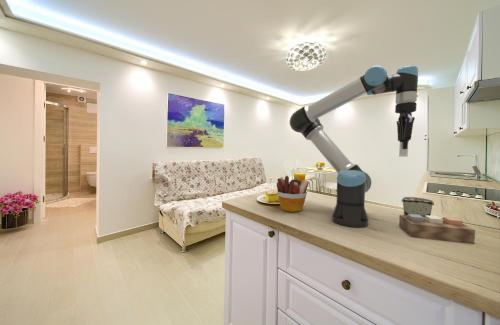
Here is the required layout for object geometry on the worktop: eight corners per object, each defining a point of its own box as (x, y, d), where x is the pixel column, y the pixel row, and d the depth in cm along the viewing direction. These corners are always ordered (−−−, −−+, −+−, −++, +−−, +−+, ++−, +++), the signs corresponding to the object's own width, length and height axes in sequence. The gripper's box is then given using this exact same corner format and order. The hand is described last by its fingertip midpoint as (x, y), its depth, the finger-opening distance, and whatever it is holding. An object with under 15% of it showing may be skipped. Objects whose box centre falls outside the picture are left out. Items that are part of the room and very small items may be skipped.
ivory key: (429, 229, 81) (430, 218, 81) (424, 226, 85) (425, 215, 85) (442, 230, 80) (442, 219, 80) (436, 227, 84) (437, 216, 83)
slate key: (411, 227, 83) (411, 216, 83) (407, 224, 87) (407, 213, 86) (423, 229, 82) (424, 217, 81) (418, 225, 85) (419, 214, 85)
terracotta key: (448, 231, 79) (449, 219, 79) (442, 227, 83) (443, 216, 83) (461, 232, 78) (462, 221, 78) (455, 228, 82) (455, 217, 82)
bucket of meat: (283, 203, 128) (284, 171, 127) (310, 207, 120) (311, 173, 118) (270, 212, 111) (270, 175, 110) (300, 217, 102) (301, 177, 101)
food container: (428, 218, 101) (429, 198, 101) (433, 222, 96) (434, 201, 95) (397, 215, 106) (398, 195, 106) (400, 218, 101) (401, 198, 100)
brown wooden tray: (410, 236, 80) (411, 223, 79) (399, 225, 91) (399, 214, 91) (474, 243, 74) (475, 229, 74) (453, 231, 85) (453, 219, 85)
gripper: (423, 99, 85) (420, 157, 86) (409, 105, 97) (407, 156, 98) (401, 100, 87) (399, 156, 88) (391, 106, 99) (388, 156, 101)
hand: (403, 156), depth 93 cm, fingers closed
